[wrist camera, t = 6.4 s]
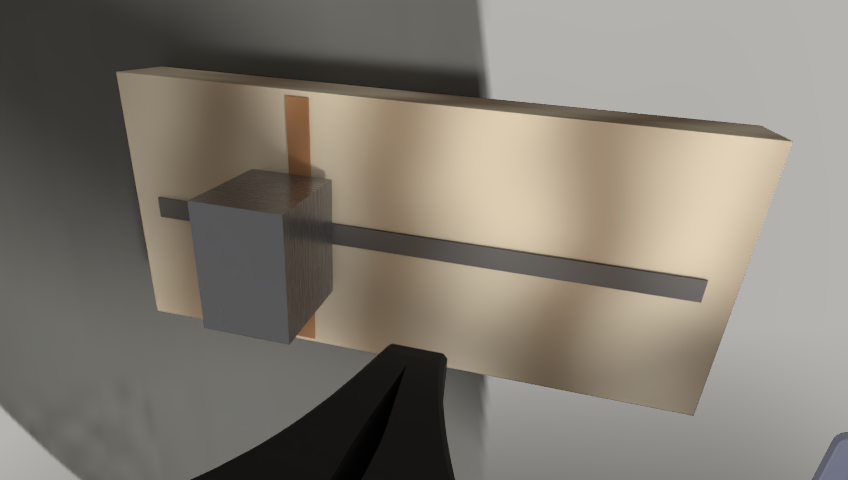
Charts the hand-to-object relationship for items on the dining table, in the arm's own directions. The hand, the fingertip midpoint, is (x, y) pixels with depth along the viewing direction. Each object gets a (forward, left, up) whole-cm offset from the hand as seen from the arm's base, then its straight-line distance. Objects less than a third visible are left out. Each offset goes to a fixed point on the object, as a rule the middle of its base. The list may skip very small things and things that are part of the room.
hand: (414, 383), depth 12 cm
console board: (+2, 0, -9) cm, 10 cm away
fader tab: (+6, 0, -7) cm, 9 cm away
